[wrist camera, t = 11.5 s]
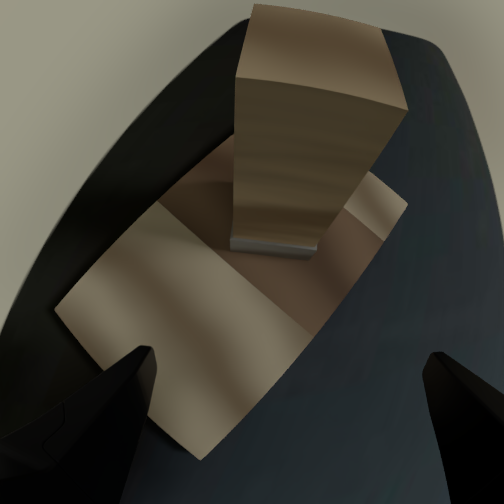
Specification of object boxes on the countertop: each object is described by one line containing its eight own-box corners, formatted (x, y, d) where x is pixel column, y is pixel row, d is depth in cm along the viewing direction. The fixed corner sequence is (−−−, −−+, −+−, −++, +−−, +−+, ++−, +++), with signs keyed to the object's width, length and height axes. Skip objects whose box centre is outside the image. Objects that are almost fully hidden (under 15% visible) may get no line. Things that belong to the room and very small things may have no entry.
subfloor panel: (202, 453, 16) (200, 460, 15) (64, 312, 19) (54, 309, 17) (399, 212, 22) (408, 204, 21) (271, 115, 25) (273, 103, 23)
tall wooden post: (308, 260, 19) (413, 115, 7) (230, 251, 19) (228, 80, 7) (311, 192, 21) (383, 27, 8) (239, 182, 21) (250, 1, 8)
